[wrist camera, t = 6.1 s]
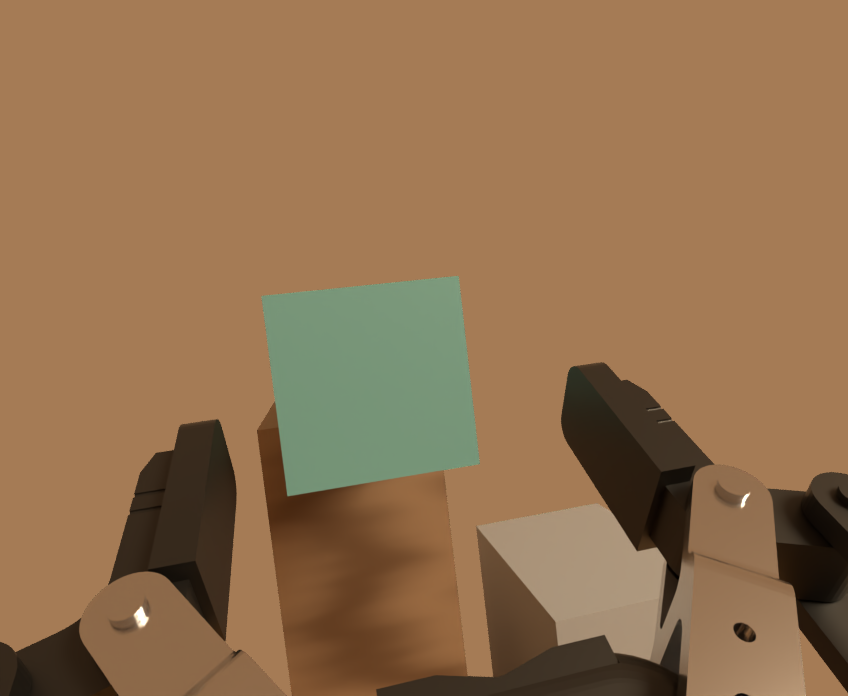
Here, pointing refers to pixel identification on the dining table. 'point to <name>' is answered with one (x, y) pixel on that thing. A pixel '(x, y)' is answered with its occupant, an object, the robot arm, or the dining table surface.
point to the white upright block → (566, 585)
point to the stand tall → (362, 579)
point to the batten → (370, 382)
